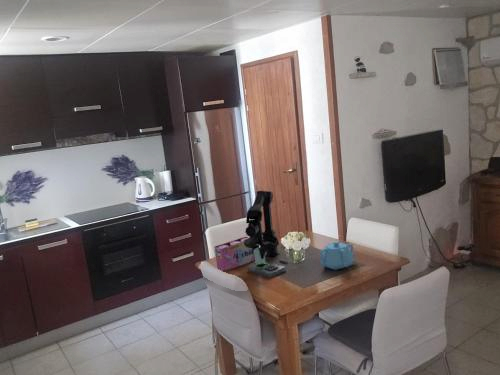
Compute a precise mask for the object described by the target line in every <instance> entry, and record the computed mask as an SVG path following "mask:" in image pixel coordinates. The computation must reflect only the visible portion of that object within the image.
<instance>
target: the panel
mask: <svg viewBox="0 0 500 375" xmlns="http://www.w3.org/2000/svg"><path fill="white" fill-rule="evenodd" d="M273 263H274V262H269V261H266V260H265V263H262V264H257V263H254V264H252V265H250V266H247V272H248V273H252V274H255V275H258V276H259V277H260V276H261V277H264V278H267V279H271V278H274V277H276V276H278V275H280V274H283V273H285V272H286V271H287V270H286V266H283V265H281V264H280V265H277V264H278V263H277V264H273Z"/></svg>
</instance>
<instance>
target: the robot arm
mask: <svg viewBox="0 0 500 375" xmlns="http://www.w3.org/2000/svg"><path fill="white" fill-rule="evenodd" d="M273 198H274V193H273V192H272V191H271V190H265V189H264V190H257V191H256V196H255V199H254V202H253V205H252V206H249V208H248V210H247V212H246V220H245V222H246V224H247V227H246V228H245V235H246V236H247V237H248V239H245V240H244V245H245V246H246V247H248V248H252V249H253V251H254V249H256V248H258V250H260V254H261V259H263V258H264V256H265V257H266V256H268V257H272V258H273V257H276V256H278V255H280V252H279V251H278V247H279V245H280V240H279V238H278V236H277V232H275V230H274V228H273V219H272V209H271V205H272V202H273ZM262 221H263V222H264V223H263V224H264V231H263V228H262ZM259 247H260V248H259Z"/></svg>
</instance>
